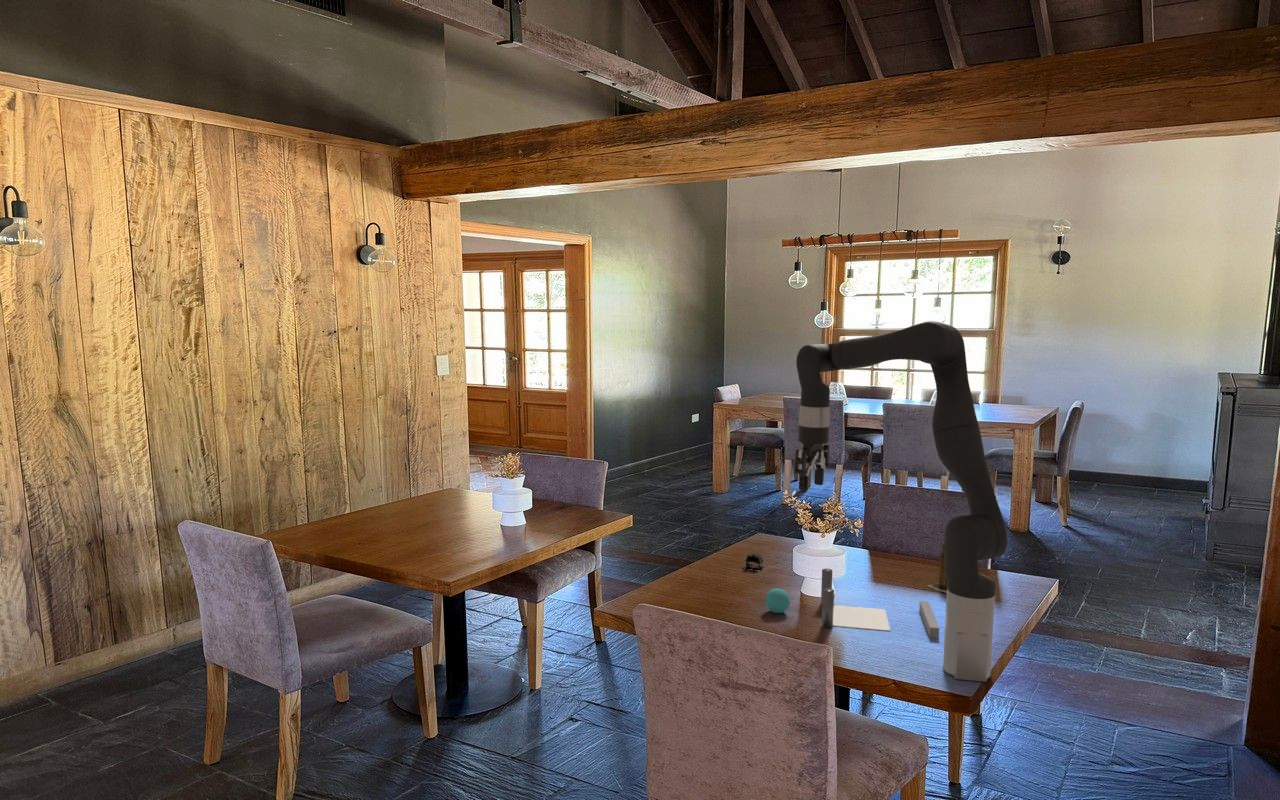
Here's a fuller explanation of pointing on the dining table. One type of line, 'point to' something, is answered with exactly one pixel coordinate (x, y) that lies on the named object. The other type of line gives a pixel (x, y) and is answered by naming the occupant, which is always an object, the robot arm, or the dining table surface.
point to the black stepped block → (756, 559)
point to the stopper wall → (929, 619)
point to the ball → (777, 600)
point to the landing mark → (860, 618)
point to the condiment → (941, 575)
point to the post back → (826, 581)
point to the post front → (827, 608)
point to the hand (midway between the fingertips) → (811, 487)
